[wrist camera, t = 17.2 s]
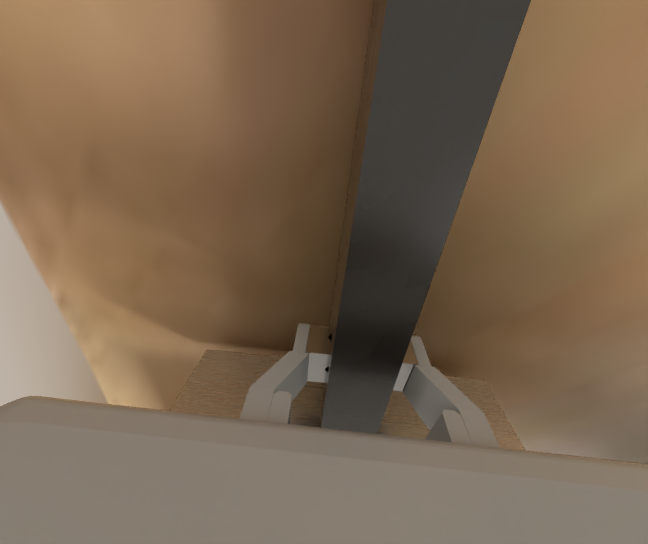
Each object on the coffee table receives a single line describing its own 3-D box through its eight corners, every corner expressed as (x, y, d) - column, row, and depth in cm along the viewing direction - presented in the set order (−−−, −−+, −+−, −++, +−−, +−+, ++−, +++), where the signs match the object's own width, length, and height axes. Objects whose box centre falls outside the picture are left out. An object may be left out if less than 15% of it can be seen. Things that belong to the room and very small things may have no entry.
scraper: (127, -85, 7) (-109, -330, 3) (727, -21, 7) (1163, -196, 3) (210, 368, 15) (171, 438, 12) (473, 397, 15) (513, 476, 12)
